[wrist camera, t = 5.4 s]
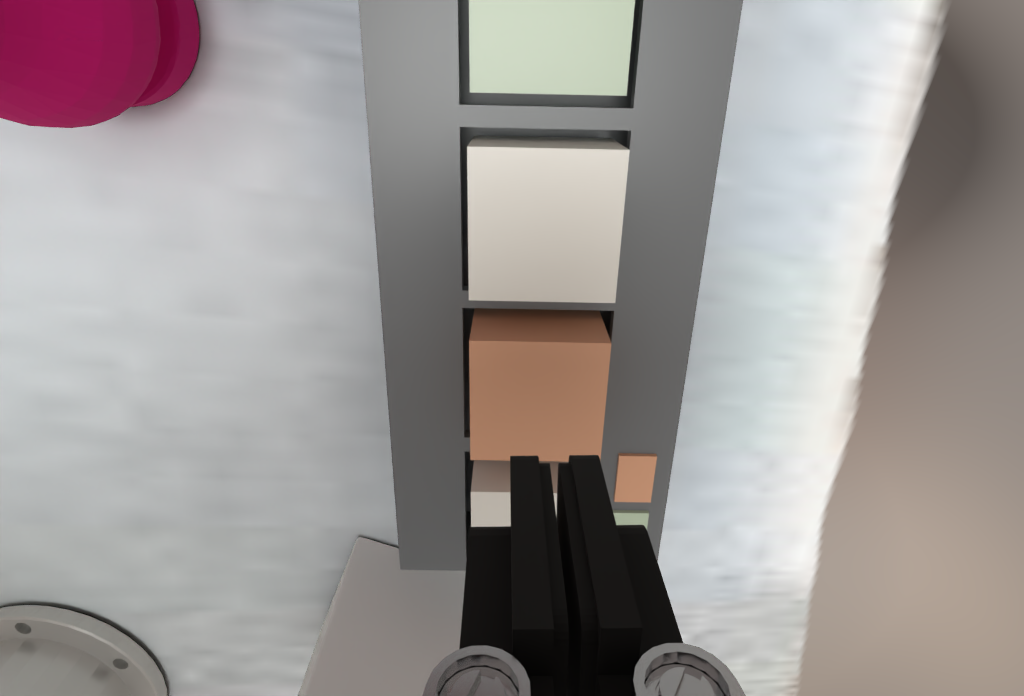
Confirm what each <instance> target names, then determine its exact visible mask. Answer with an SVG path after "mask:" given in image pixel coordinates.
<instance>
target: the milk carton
mask: <svg viewBox="0 0 1024 696" xmlns="http://www.w3.org/2000/svg"><path fill="white" fill-rule="evenodd" d="M465 573H466V571H448V570H400V559H399V548H395V547H392V546H389V545H386V544H383V543H379V542H376V541H373V540H370V539H366V538H362V537H358V538H357V540H356V542H355V544H354V547H353V549H352V552H351V554H350V557H349V559H348V562H347V564H346V567H345V570H344V572H343V575H342V577H341V580H340V582H339V585H338V587H337V590H336V592H335V595H334V597H333V600H332V603H331V605H330V608H329V610H328V613H327V615H326V618H325V620H324V623H323V625H322V628H321V631H320V634H319V637H318V640H317V642H316V645H315V648H314V651H313V654H312V657H311V660H310V663H309V665H308V668H307V671H306V674H305V677H304V680H303V683H302V686H301V688H300V691H299V694H298V696H423V692H424V689H425V686H426V683H427V681H428V679H429V676H430V674H431V672H432V670H433V669H434V668H435V667H436V666H437V665H438V664H439V662H440V661H441V660H442V659H443V658H445V657H446V656H448V655H450V654H451V653H453V652H454V651H456V650H459V647H460V635H461V622H462V610H463V598H464V585H465Z"/></svg>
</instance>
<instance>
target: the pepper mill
mask: <svg viewBox="0 0 1024 696" xmlns="http://www.w3.org/2000/svg"><path fill="white" fill-rule="evenodd" d="M198 49H199V23H198V17H197V11H196V7H195V4H194V1H193V0H0V118H3V119H6V120H10V121H14V122H18V123H21V124H25V125H29V126H43V127H63V128H74V127H83V126H91V125H95V124H98V123H101V122H104V121H107V120H109V119H111V118H114V117H116V116H118V115H120V114H121V113H122V112H124V111H125V110H126V109H128V108H129V107H136V106H146V105H151V104H155V103H157V102H159V101H162V100H164V99H166V98H168V97H170V96H171V95H173V94H174V93H175V92H176V91H177V90H179V88H180V87H181V86H182V85H183V83H184V82H185V81H186V80H187V78H188V77H189V75H190V73H191V72H192V69H193V67H194V64H195V62H196V58H197V54H198Z"/></svg>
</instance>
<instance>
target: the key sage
mask: <svg viewBox="0 0 1024 696" xmlns="http://www.w3.org/2000/svg"><path fill="white" fill-rule="evenodd" d="M634 7H635V0H469V66H470V92H471V93H518V94H566V95H613V96H627V85H628V74H629V63H630V52H631V41H632V29H633V18H634Z"/></svg>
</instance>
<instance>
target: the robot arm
mask: <svg viewBox="0 0 1024 696" xmlns="http://www.w3.org/2000/svg"><path fill="white" fill-rule="evenodd" d="M510 503H511V526H501V527H470V528H469V536H468V548H467V561H466V573H465V585H464V598H463V610H462V622H461V635H460V647H459V650H456V651H454V652H453V653H451V654H450V655H448V656H446V657H445V658H443V659H442V660H441V661H440V662H439V664H438V665H437V666H436V667H435V668H434V669H433V670H432V672H431V674H430V676H429V679H428V681H427V683H426V686H425V689H424V692H423V696H746V695H745V694H744V692H743V690H742V688H741V686H740V685H739V683H738V681H737V679H736V678H735V677H734V675H733V674H732V673H731V671H730V670H729V669H728V667H727V666H726V665H725V664H724V663H722V662H721V661H720V660H719V659H718V658H716V657H715V656H714V655H713V654H711V653H709V652H707V651H705V650H703V649H701V648H699V647H696V646H692V645H688V644H684V643H683V641H682V638H681V635H680V632H679V629H678V625H677V622H676V619H675V616H674V613H673V610H672V607H671V604H670V600H669V597H668V594H667V591H666V588H665V585H664V582H663V578H662V575H661V572H660V569H659V566H658V563H657V560H656V556H655V553H654V550H653V547H652V544H651V541H650V538H649V535H648V532H647V529H646V527H645V526H644V525H616V521H615V517H614V514H613V510H612V506H611V502H610V498H609V494H608V490H607V486H606V482H605V478H604V474H603V470H602V466H601V462H600V458H599V456H598V455H570V456H569V460H568V463H559V464H558V481H557V515H556V511H555V502H554V494H553V485H552V477H551V468H550V463H539V457H538V456H510ZM0 696H167V688H166V685H165V681H164V678H163V675H162V674H161V672H160V670H159V669H158V667H157V665H156V663H155V662H154V660H153V659H152V658H151V657H150V656H149V655H148V654H147V653H146V651H145V650H144V649H143V648H142V647H141V646H139V645H138V644H137V643H136V642H135V641H133V640H132V639H131V638H130V637H128V636H127V635H125V634H124V633H122V632H120V631H119V630H117V629H116V628H114V627H112V626H111V625H109V624H106V623H104V622H102V621H100V620H97V619H95V618H93V617H91V616H88V615H84V614H81V613H78V612H75V611H72V610H67V609H62V608H56V607H51V606H38V605H20V606H10V607H3V608H0Z"/></svg>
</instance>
